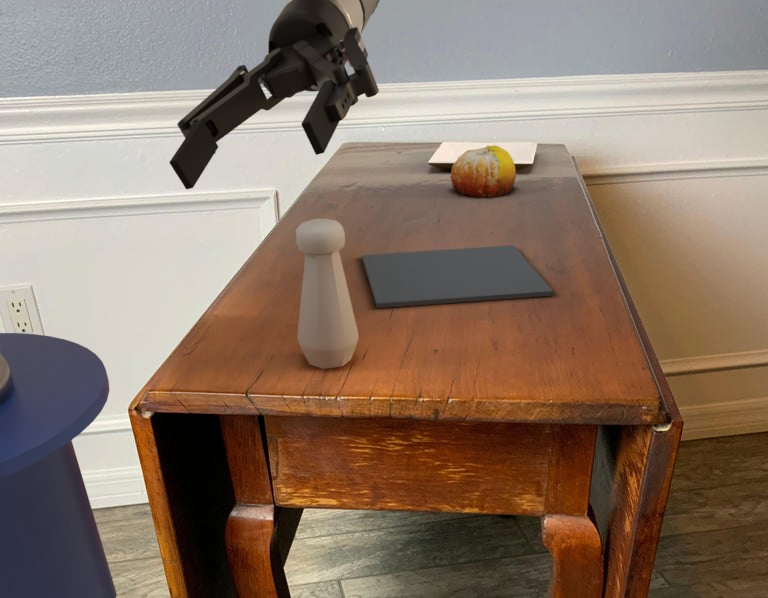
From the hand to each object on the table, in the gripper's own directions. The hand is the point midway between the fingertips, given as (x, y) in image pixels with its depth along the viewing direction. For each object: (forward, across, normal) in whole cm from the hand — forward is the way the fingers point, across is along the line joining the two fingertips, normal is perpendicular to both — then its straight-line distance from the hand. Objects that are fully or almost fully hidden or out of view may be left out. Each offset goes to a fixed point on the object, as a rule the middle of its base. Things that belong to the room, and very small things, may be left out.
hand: (243, 158), depth 67 cm
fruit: (-60, +3, -43) cm, 74 cm away
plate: (-80, +8, -50) cm, 95 cm away
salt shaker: (+6, -1, -19) cm, 19 cm away
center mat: (-19, -5, -29) cm, 35 cm away
